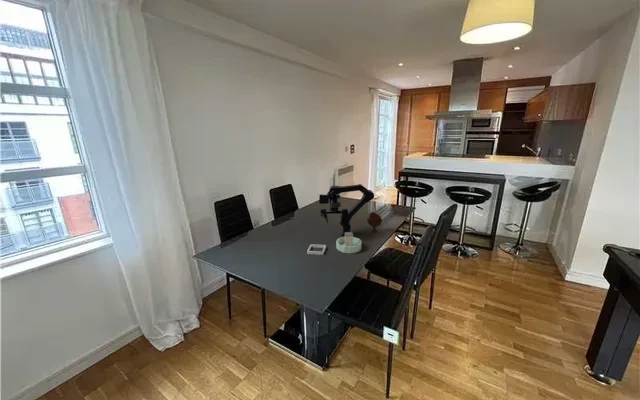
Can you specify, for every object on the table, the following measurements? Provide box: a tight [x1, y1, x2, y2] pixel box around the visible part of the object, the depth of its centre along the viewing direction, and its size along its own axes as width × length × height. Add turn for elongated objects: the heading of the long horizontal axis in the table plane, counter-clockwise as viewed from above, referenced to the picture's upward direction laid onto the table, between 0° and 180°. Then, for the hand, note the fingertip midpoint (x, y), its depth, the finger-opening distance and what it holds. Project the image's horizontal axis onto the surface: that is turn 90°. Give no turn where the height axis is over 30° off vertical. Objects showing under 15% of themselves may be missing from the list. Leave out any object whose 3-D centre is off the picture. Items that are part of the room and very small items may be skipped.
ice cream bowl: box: [366, 211, 383, 234], centre depth 194 cm, size 11×11×15 cm
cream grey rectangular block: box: [344, 231, 354, 247], centre depth 170 cm, size 5×5×9 cm
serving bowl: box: [335, 236, 362, 254], centre depth 171 cm, size 16×16×4 cm
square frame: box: [306, 244, 327, 256], centre depth 168 cm, size 10×10×2 cm
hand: (334, 223), depth 176 cm, fingers open, 9 cm apart
